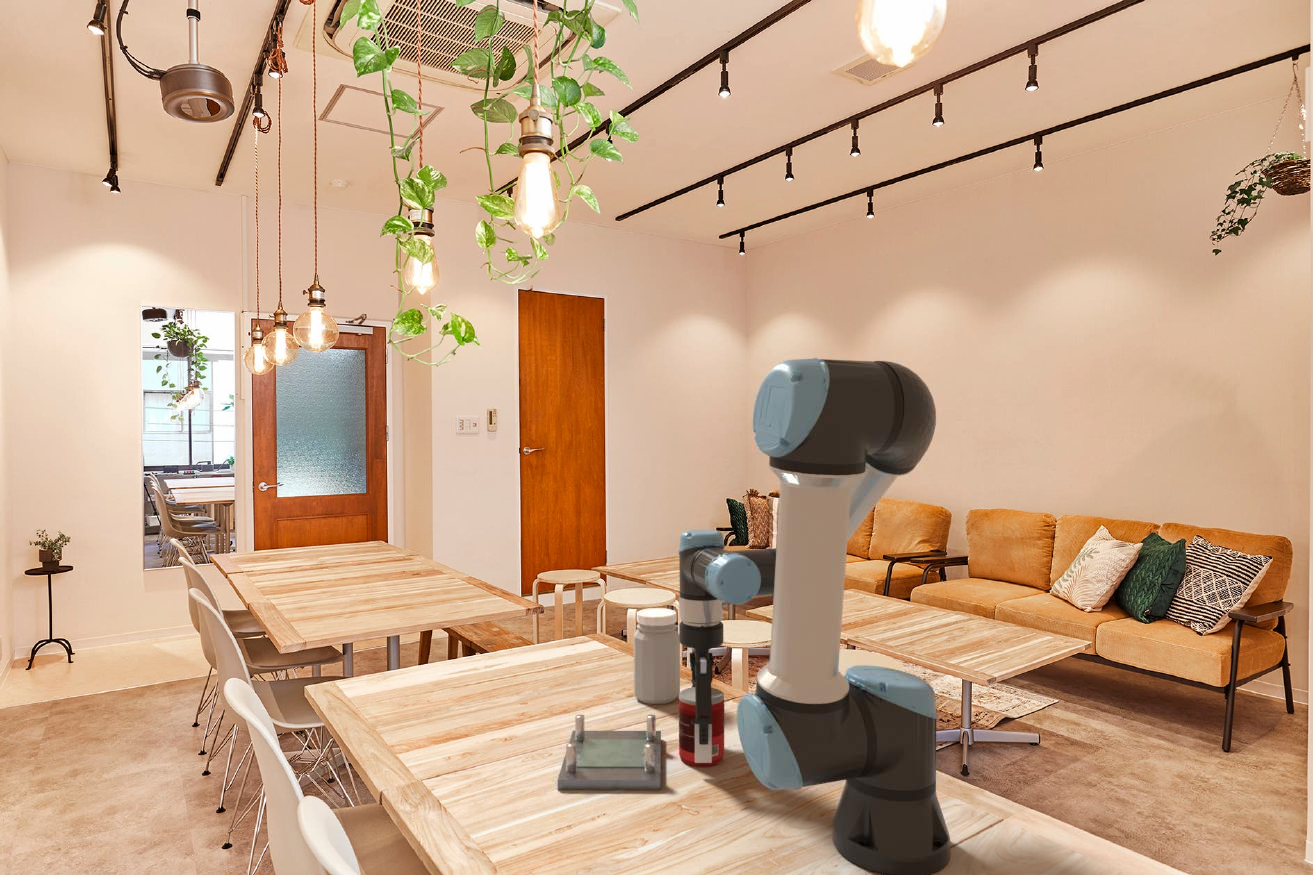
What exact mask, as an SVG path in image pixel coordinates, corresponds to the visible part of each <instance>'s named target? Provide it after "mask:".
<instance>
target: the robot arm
mask: <svg viewBox="0 0 1313 875" xmlns="http://www.w3.org/2000/svg"><path fill="white" fill-rule="evenodd" d="M755 397H756V398H755V401H754V406H753V415H752V430H753V432H754V433H755V436H754V440H755V444H756V445H757V447H758V449H759V450H760V451H761V452H762V453H763V454H764V455H767V456H768V457H769V461H768V468H769V469H770V470H771V471H772V472H773V473H774V474H775V475H776V477H777V478H778V480H779V481H780V484H779V485H780V486H779V500H778V501H779V502H778V516H777V532H776V533H777V534H776V535H777V536H776V548H774V547H773V548H764V549H763V548H762V549H761V548H760V549H758V548H757V549H743V550H742V549H740V550H738V549H737V550H727V549H725V546H726V545H725V542H724V535H723V533H722V532H721V531H718V530H715V529H714V530H713V529H689V530H685V531H684V532H682V533H681V534H680V537H679V550H678V555H679V556H678V557H679V563H678V564H679V595H678V596H679V597H678V598H679V599H678V617H679V619H680V620H681V622H680V623H679V625H678V626H679V629H678V630H679V633H678V634H679V641H680V645H682V646H683V647H685V648H689V649H692V652H689V667H690V671H691V679H690V680H691V684H692V685H691V687H695V700H696V718H695V719H692V720H691V724H695V763H712V722H713V719H712V698H711V688H712V683H713V679H714V678H713V675H714V674H713V669H714V662H715V661H714V660H715V659H714V656H713V652H710V650H711V649H716V648H719V647H721V646H722V645H723V644H724V623H723V622H722V621H723V619H724V609H723V608H726V607H727V606H728V604H730V605H743V604H746V603H747V602H749V601H751V600H752V599H754V598H759V597H760V598H761V597H763V598H764V597H772V596H773V599H772V601H773V602H772V603H773V604H772V619H771V636H770V654H769V662H768V663H766V664H765V665H763V667H761V668H760V669H759V670H758V672H757V675H756V687H755V688H756V689H755V692H754V693H747V694H746V695H743V696H742V697H741V698H740V700H739V702H738V704H737V709H736V722H737V723H736V724H737V732H738V736H739V741H740V744H741V747H742V750H743V753H744V757H745V759H746V761H747V764H748V766H749V768H750V769H751V772H752V773H753V775H754V776H755V777H756V779H757V780H758V781H759V782H760V784H762V785H763V786H765V787H766V788H768V789H770V790H773V791H783V790H791V789H794V790H795V791H797V790H801V789H802V788H805V787H806V788H807V787H811V786H816V785H823V784H828V783H829V784H830V783H834V782H840V781H845V784H844V786H843V789H842V792H841V795H840V798H839V801H838V803H837V804H838V805H837V808H836V810H835V813H834V817H833V820H832V843H833V845H834V847H835V849H836V850H837V851H838V853H840V854H841V855H842V856H843V857H844V858H845V859H847V860H848V861H850V862H852V863H853V864H855V865H858V866H859V867H860V868H864V869H865V870H866V869H867V870H869V871H872V872H876V873H878V874H885V875H930V874H931V875H932V874H933V873H937V871H940V870H942V869H943V868H945V867H947V865H948V863H949V861H950V860H951V837H950V832H949V830H948V826H947V823H946V821H945V818H944V814H943V812H942V808H941V804H940V801H939V798H938V796H937V720H938V716H939V715H938V714H937V707H936V706H937V704H936V694H935V691H934V688H933V686H932V685H931V684H930V683H929V682H927V681H926V680H925V679H923V678H921V677H919V676H917V675H915V674H911V673H909V672H906V671H902V670H899V669H895V668H890V667H884V666H877V665H866V664H865V665H863V664H862V665H860V664H859V665H858V664H857V665H852V666H850V667H848V668H847V669H846V670H845V674H844V675H843V674H842V673H841V671H840V670H839V663H840V654H841V653H840V651H841V650H840V648H841V637H842V636H841V635H842V624H843V611H844V610H843V609H844V608H843V607H844V592H845V581H846V580H845V579H846V566H847V552H848V542H849V540H850V539H851V538H852V537H853V536H854V534H855V533H856V531H858V529H859V528H860V526H861V525H862V524H863V523H864V522H865V520H866V519H867V517H869V515H870V514H871V512H872V511H873V510H874V508H875V507H876V506H877V504H878V503H879V502H880V500H881V499H882V498H883V497H884V495H885V494H886V492H887V491H888V490H889V488H890V487H891V486H892V485H893V484H894V482H895V481H896V480H897V478H898V477H901V476H905V475H908V474H910V473H911V472H913V470H914V469H915V468H916V467H917V465H918V464H919V463H920V461H921V460H922V459H923V457H924V456H925V454H926V453H927V451H928V449H929V447H930V445H931V443H932V442H933V438H934V434H935V432H936V431H935V430H936V424H937V411H936V405H935V401H934V398H933V395H932V392H931V391H930V389H929V387H928V385H927V384H926V382H925V381H924V380H923V379H922V378H921V377H920V376H919V375H918V374H917V373H915V372H914V371H913V370H911V369H910V368H909V367H907V366H904V365H902V364H901V363H898V362H893V361H887V360H874V361H870V360H849V359H828V358H827V359H826V358H825V359H824V358H818V357H814V358H813V357H812V358H800V359H787V360H784V361H781V362H779V363H778V364H776V365H775V366H774V367H773V368H771V369H770V370H769V372H768V373H767V375H766V377H764V379H763V380H762V383H761V384H760V386H759V388H758V390H757V395H756V396H755ZM700 715H708V716H700Z"/></svg>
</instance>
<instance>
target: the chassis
mask: <svg viewBox="0 0 1313 875" xmlns="http://www.w3.org/2000/svg"><path fill="white" fill-rule="evenodd" d="M574 717H575V720H574V721H575V730H572V732H571V736H570V739H569V743H567V744H566V745H565V747H566V748H565V749H566V750H565V754H564V758H563V761H562V763H561V767H560V770H559V773H558V774H559V775H558V777H557V790H559V791H560V790H561V791H562V790H563V791H564V790H565V791H566V790H567V791H573V790H574V791H575V790H576V791H584V790H585V791H586V790H587V791H593V790H595V791H596V790H598V791H616V790H617V791H661V769H662V768H661V767H662V766H661V765H662V764H661V759H662V758H661V756H662V730H657V728H656V727H657V725H656V724H657V716H656V715H655V714H647V715H646V730H585V715H584V714H576V715H575V716H574Z"/></svg>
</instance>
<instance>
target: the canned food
mask: <svg viewBox="0 0 1313 875" xmlns="http://www.w3.org/2000/svg"><path fill="white" fill-rule="evenodd" d="M711 698H712V719H713V722H712V763H695V724H691V720H692V719H695V718H696V700H695V687H692V686H691V687H687V688H685V689H682V690H680V693H679V695H678V755H679V758H680V760H681V761H682V763H684V764H685V765H689V766H692V767H697V768H699V767H700V768H705V767H706V768H707V767H711V766H715V765H716V766H717V765H718V764H719V763H721V762H722V761H723V759H724V755H725V694H724V691H722V690H720V689H718V688H715V687H711ZM700 716H708V715H700Z"/></svg>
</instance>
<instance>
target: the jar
mask: <svg viewBox="0 0 1313 875" xmlns="http://www.w3.org/2000/svg"><path fill="white" fill-rule="evenodd" d="M636 622H637V623H638V624H637V625H636V630H635V632H634V633H633V694H634V696H635V698H636V699H637V700H638V701H639V702H641V703H643V704H649V705H666V704H669V703H673V702H674V701H675V700H676V699H677V698H679V693H680V692H681V661H680V660H681V643H680V641H679V633H678V631H677V630H676V629H677V627H678V626H677V624H676V623H677V612H676V610H673V609H670V608H664V607H649V608H643V609H640V610H638V611H636Z"/></svg>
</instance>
